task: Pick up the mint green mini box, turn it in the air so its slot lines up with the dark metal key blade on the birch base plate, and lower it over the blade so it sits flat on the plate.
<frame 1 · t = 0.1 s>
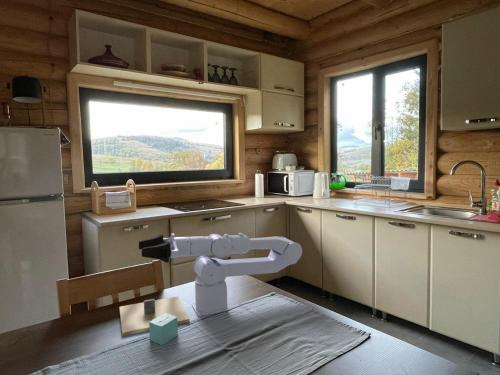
hand: (140, 248, 93), 21 cm above the table, tool horizontal, fingers open, 7 cm apart
mint green mini box: (164, 337, 87), on the table
base plate: (153, 315, 99), on the table
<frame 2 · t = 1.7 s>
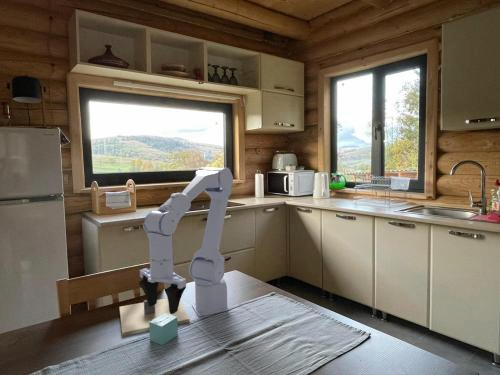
hand: (163, 308, 86), 8 cm above the table, tool pointing down, fingers open, 7 cm apart
nothing on the table moved.
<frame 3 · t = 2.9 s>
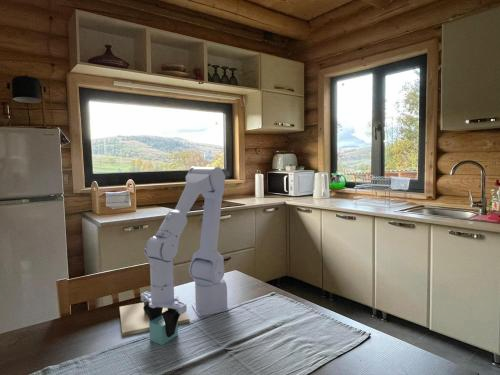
hand: (163, 332, 87), 1 cm above the table, tool pointing down, fingers closed on mint green mini box, 4 cm apart
mint green mini box: (164, 337, 87), on the table, touching gripper
when the fingers open (3 cm above the table, at t = 7.2 s): mint green mini box stays where it is, resting on base plate.
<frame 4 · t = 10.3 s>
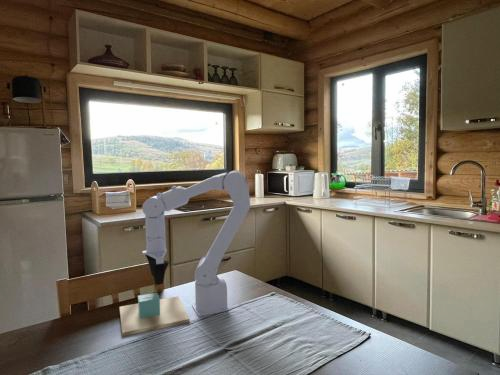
hand: (157, 279, 102), 9 cm above the table, tool pointing down, fingers open, 7 cm apart
mint green mini box: (149, 313, 98), point 1 cm above the table, touching base plate
at the end: mint green mini box 0.2 cm from the target spot on the base plate, point 1.0 cm above the base plate's base; mint green mini box tilted 0°; the gripper is holding nothing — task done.
